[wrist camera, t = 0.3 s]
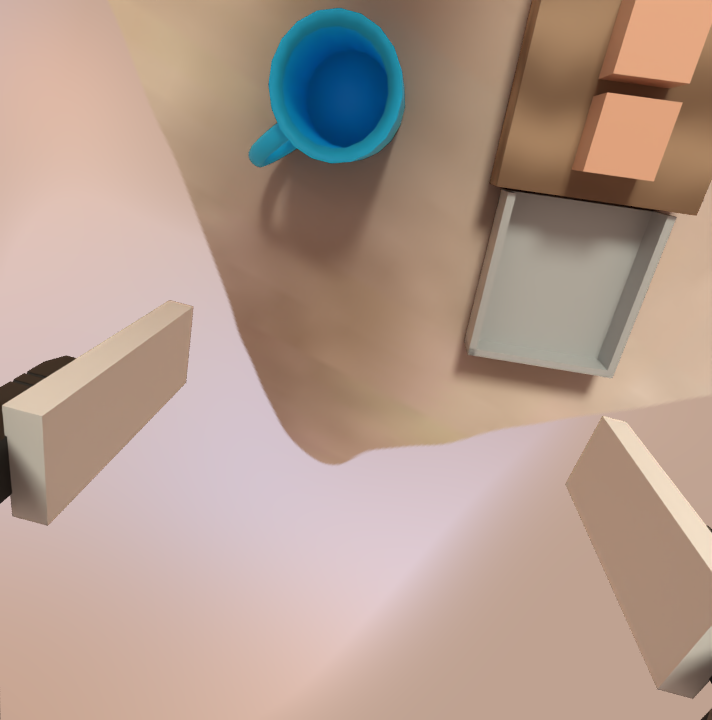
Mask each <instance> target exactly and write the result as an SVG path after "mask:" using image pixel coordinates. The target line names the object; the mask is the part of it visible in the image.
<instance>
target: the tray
mask: <svg viewBox="0 0 712 720" xmlns="http://www.w3.org/2000/svg"><path fill="white" fill-rule="evenodd" d="M675 220H676V217H675V216H671V215H667V214H663V213H659V212H654V211H648V210H641V209H634V208H627V207H620V206H613V205H607V204H600V203H593V202H586V201H579V200H572V199H566V198H559V197H552V196H545V195H538V194H532V193H525V192H518V191H511V190H504V189H501V193H500V197H499V201H498V205H497V209H496V213H495V217H494V221H493V225H492V230H491V234H490V238H489V242H488V246H487V250H486V254H485V258H484V262H483V266H482V271H481V275H480V279H479V283H478V287H477V291H476V295H475V299H474V303H473V307H472V312H471V316H470V320H469V324H468V328H467V332H466V336H465V340H464V343H465V346H466V350H467V354H468V355H473V356H479V357H485V358H491V359H497V360H503V361H510V362H516V363H522V364H528V365H534V366H540V367H546V368H552V369H559V370H565V371H571V372H577V373H583V374H589V375H595V376H601V377H608V378H613V376H614V373H615V371H616V368H617V366H618V363H619V361H620V358H621V355H622V353H623V350H624V348H625V345H626V343H627V340H628V338H629V335H630V333H631V330H632V328H633V325H634V323H635V320H636V318H637V315H638V313H639V310H640V308H641V305H642V303H643V300H644V298H645V295H646V293H647V290H648V288H649V285H650V283H651V280H652V278H653V275H654V273H655V270H656V268H657V265H658V263H659V260H660V258H661V255H662V253H663V250H664V248H665V245H666V243H667V240H668V238H669V235H670V233H671V230H672V227H673V225H674V222H675Z"/></svg>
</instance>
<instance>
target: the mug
mask: <svg viewBox="0 0 712 720" xmlns="http://www.w3.org/2000/svg"><path fill="white" fill-rule="evenodd" d="M269 92H270V100H271V108H272V111H273V113H274V115H275V118H276V120H277V123H276V124H275V125H274V126H272V127H271V128H270V129H269V130H268V131H267V132H266V133H264V134H263V135H262V136H261V137H260V138H259V139H258V140H257V141H256V142H255V143H254V144H253V145H252V147H251V149H250V151H249V159H250V161H251V162H252V163H253V164H254V165H255V166H257V167H263V166H266V165H269V164H271V163H273V162H275V161H277V160H279V159H281V158H282V157H284V156H286V155H288V154H289V153H291V152H293V151H294V150H296V149H298V150H300V151H301V152H303V153H304V154H306V155H307V156H309V157H310V158H313V159H316V160H320V161H324V162H328V163H342V162H352V161H357V160H362V159H365V158H367V157H370V156H372V155H374V154H376V153H378V152H380V151H381V150H382V149H383V148H384V147H385V146H386V145H387V144H388V143H389V142H391V140H392V139H393V137H394V135H395V134H396V132H397V130H398V128H399V127H400V125H401V121H402V117H403V113H404V109H405V90H404V81H403V75H402V70H401V67H400V63H399V60H398V57H397V54H396V51H395V48H394V46H393V45H392V43H391V42H390V41H389V39H388V38H387V36H386V35H385V33H384V32H383V31H382V29H381V28H380V27H379V26H378V25H376V24H375V23H374V22H372V21H371V20H369V19H368V18H367V17H365V16H364V15H362V14H361V13H357V12H353V11H349V10H346V9H342V8H334V9H326V10H318V11H316V12H314V13H312V14H310V15H308V16H306V17H305V18H303V19H301V20H299V21H297V22H296V24H295V25H294V26H293V27H292V28H291V29H290V30H289V31H288V32H287V34H286V35H285V36H284V37H283V38H282V39H281V42H280V44H279V46H278V48H277V51H276V53H275V55H274V57H273V59H272V64H271V71H270V78H269Z"/></svg>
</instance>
